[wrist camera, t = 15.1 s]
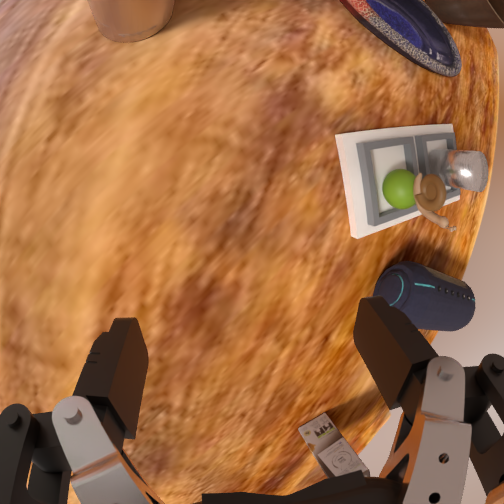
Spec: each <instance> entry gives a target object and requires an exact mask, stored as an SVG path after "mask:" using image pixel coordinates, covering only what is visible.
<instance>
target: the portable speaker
mask: <svg viewBox="0 0 504 504" xmlns="http://www.w3.org/2000/svg"><path fill="white" fill-rule="evenodd" d="M379 295H380V296H382V297H383V298H384V299H385V300H386V301H387V302H388V304H389V305H390V306H391V307H393V306H394V307H396V308H397V309H399V310H400V311H402V312H404V313H405V314H406V315H407V317H408V318H409V319H410V320H411V321H412V324H414V325H415V326H416V328H417V329H426V330H438V331H456V330H459V329H461V328H463V327H464V326H466V325H467V324H468V323H469V322H470V321H471V319H472V317H473V315H474V311H475V297H474V294H473V292H472V290H471V288H470V287H469V286H468V285H467V284H466V283H465V282H463V281H461V280H458V279H456V278H454V277H451V276H449V275H446V274H444V273H441V272H439V271H436V270H434V269H431V268H429V267H426V266H424V265H421V264H419V263H415V262H411V261H402V262H399V263H397V264H395V265H393V266H392V267H390V268H388V269H387V270H386V271H385V272H384V273H383V274H382V275H381V276H380V278H379V280H378V281H377V283H376V286H375V290H374V293H373V296H379Z"/></svg>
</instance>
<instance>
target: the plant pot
mask: <svg viewBox="0 0 504 504" xmlns="http://www.w3.org/2000/svg"><path fill="white" fill-rule="evenodd" d="M425 3H426V4H427V5H428V6H429V7H430V9H431V10H432V11H433V12H434V13H435V14H436V15H437V17H438V18H439V19H440V20H441V22H442V23H448V24H455V25H463V26H473V27H485V28H504V0H425Z"/></svg>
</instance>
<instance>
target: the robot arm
mask: <svg viewBox="0 0 504 504" xmlns="http://www.w3.org/2000/svg"><path fill="white" fill-rule="evenodd" d="M88 3H89V5H90V8H91V11H92V14H93V16H94V19H95V21H96V24H97V26H98V28H99V31H100V32H101V33H102V34H103V35H104V36H105V37H107V38H108V39H110V40H113V41H117V42H135V41H140V40H143V39H145V38H148V37H150V36H152V35H154V34H156V33H157V32H158V31H160V30H161V29H162V28H163V27H164V26H165V25H166V24H167V23H168V21H169V20H170V18H171V15H172V13H173V7H174V0H88ZM353 337H354V342H355V345H356V347H357V349H358V351H359V353H360V355H361V357H362V358H363V360H364V362H365V364H366V366H367V368H368V369H369V371H370V373H371V375H372V377H373V379H374V381H375V383H376V385H377V386H378V388H379V390H380V392H381V394H382V396H383V398H384V400H385V402H386V404H387V406H388V408H389V410H392V409H395V408H398V407H402V409H403V413H402V415H401V417H400V421H399V425H398V429H397V432H396V436H395V439H394V442H393V445H392V449H391V452H390V455H389V457H388V460H387V462H386V464H385V466H384V467H383V469H382V471H381V473H380V475H379V477H364V475H363V472H362V470H358V471H354V472H351V473H347V474H344V475H340V476H336V477H332V478H328V479H324V480H322V481H320V482H318V483H316V484H314V485H311V486H309V487H307V488H305V489H302V490H300V491H297V492H295V493H293V494H290V495H286V496H278V495H265V494H255V493H247V492H234V493H209V494H202V501H201V502H197V503H193V504H460V503H461V499H462V495H463V490H464V485H465V480H466V474H467V467H468V461H469V457H470V459H471V461H472V463H473V466H474V468H475V470H476V472H477V474H478V477H479V479H480V481H481V483H482V486H483V488H484V491H485V493H486V496H487V499H486V503H485V504H504V433H503V436H501V435H500V433H499V431H498V430H497V428H496V426H495V424H494V423H493V421H492V419H491V417H490V416H489V414H488V412H487V410H488V408H490V406H491V405H493V407H494V408H495V410H496V412H497V413H498V415H499V417H500V418H501V420H502V422H503V424H504V358H503V357H502V356H500V355H497V354H488V355H486V356H485V357H484V358H483V360H482V361H481V363H480V365H479V366H473V367H462V366H461V364H460V363H459V362H457V361H456V360H454V359H453V358H450V357H446V356H438V354H437V353H436V352H435V350H434V349H433V348H432V347H431V345H430V344H429V343H428V341H427V340H426V339H425V338H424V336H423V335H422V334H421V333H420V331H418V329H417V328H416V326H415V325H414V324H412V321H411V320H410V319H409V318H408V317H407V315H406V314H405V313H404V312H402V311H400V310H399V309H397V308H396V307H394V306H393V307H391V306H390V305H389V304H388V302H387V301H386V300H385V299H384V298H383V297H382V296H380V295H379V296H372V297H366V298H362V299H361V300H360V302H359V307H358V312H357V317H356V322H355V326H354V332H353ZM147 369H148V351H147V348H146V345H145V342H144V339H143V336H142V332H141V329H140V326H139V323H138V320H137V319H136V318H115V319H114V321H113V323H112V326H111V328H110V330H109V332H103V333H102V334H101V335H100V336H99V337H98V338H97V339H96V340H95V341H94V343H93V345H92V348H91V350H90V354H89V355H88V357H87V360H86V363H85V364H84V367H83V369H82V372H81V374H80V377H79V380H78V382H77V385H76V387H75V390H74V393H73V395H72V396H70V397H67V398H64V399H62V400H61V401H60V402H59V403H58V404H57V405H56V406H55V408H54V409H53V411H52V412H46V413H38V414H32V413H31V412H30V411H29V410H28V408H27V407H26V406H24V405H22V404H12V405H10V406H8V407H7V408H5V409H4V410H3V411H2V413H1V415H0V504H67V499H68V491H69V484H70V481H71V484H72V487H73V489H74V491H75V493H76V495H77V497H78V499H79V500H80V502H81V504H165V503H164V502H163V501H162V500H161V499H160V498H159V497H158V496H157V494H156V493H155V492H154V491H153V490H152V489H151V487H150V486H149V485H148V483H147V482H146V481H145V479H144V478H143V477H142V475H141V474H140V472H139V471H138V470H137V468H136V467H135V465H134V464H133V462H132V461H131V459H130V458H129V456H128V455H127V453H126V452H125V450H124V449H123V442H124V438H125V439H135V436H136V430H137V424H138V417H139V412H140V406H141V400H142V395H143V389H144V384H145V379H146V374H147ZM31 461H32V462H33V465H32V469H31V474H30V479H29V484H28V489H27V487H26V483H27V478H28V473H29V469H30V464H31ZM71 471H73V476H71Z"/></svg>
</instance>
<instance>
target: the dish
mask: <svg viewBox="0 0 504 504" xmlns="http://www.w3.org/2000/svg"><path fill="white" fill-rule="evenodd" d="M340 1H341V2H342V3H343V4H344V6H345V7H346V8H347V9H348V10H349V11H350V12H351V14H352V15H353V16H354V17H355V18H356V19H357V20H358V21H359V22H360V23H361V24H363V25H364V26H365V27H366V28H367V29H368V30H370V31H371V32H372V33H373V34H375V35H376V36H377V37H378V38H380V39H381V40H382V41H384V42H385V43H386V44H388V45H389V46H390V47H392V48H393V49H394V50H396V51H397V52H399V53H400V54H402V55H403V56H405V57H406V58H408V59H409V60H411V61H412V62H414V63H416V64H418V65H420V66H421V67H423V68H426V69H428V70H430V71H432V72H435V73H438V74H441V75H445V76H456V75H458V74H459V72H460V70H461V66H462V64H461V58H460V54H459V51H458V49H457V46H456V44H455V42H454V40H453V38H452V37H451V35H450V33H449V32H448V30H447V29H446V27H445V26H444V24H443V23H442V22H441V20H440V19H439V18H438V17H437V15H436V14H435V13H434V12H433V11H432V10H431V9H430V7H429V6H428V5H427V4H426V3H425V2H424V1H423V0H340Z"/></svg>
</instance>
